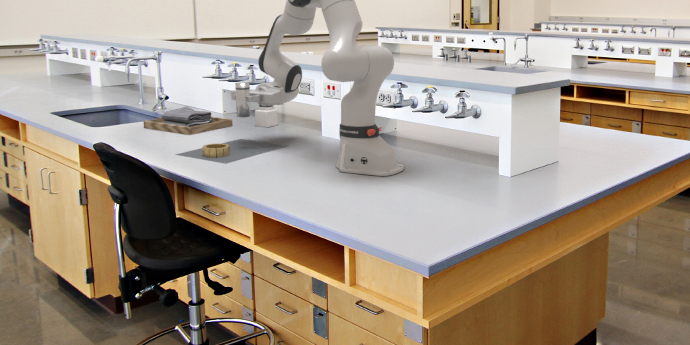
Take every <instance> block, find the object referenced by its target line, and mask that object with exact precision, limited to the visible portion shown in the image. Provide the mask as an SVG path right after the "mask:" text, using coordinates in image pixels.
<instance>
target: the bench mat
mask: <svg viewBox="0 0 690 345" xmlns="http://www.w3.org/2000/svg"><path fill="white" fill-rule="evenodd" d="M220 144H228V145H230V155H229V156H225V157H218V158H217V157H216V158H210V157H204V156H203V153H202V147H201V148H197V149H192V150H188V151H184V152H181V153H180V152H179V153H176V154H175V156H181V157H184V158H185V157H186V158H191V159H192V158H193V159H198V160H203V161H209V162H215V163H219V164H225V165H226V164H230V163H233V162H237V161H240V160H243V159H247V158H251V157H254V156H258V155H261V154H266V153H268V152H269V153H270V152H272V151H276V150H279V149H283V148H287V147H288V145H286V144H279V143H273V142H265V141H259V140H258V141H257V140H252V139H246V138H239V139H234V140H231V141H226V142H223V143H221V142H220Z"/></svg>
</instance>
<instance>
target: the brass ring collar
mask: <svg viewBox="0 0 690 345" xmlns="http://www.w3.org/2000/svg"><path fill="white" fill-rule="evenodd" d="M201 148H202V153H203V156H204V157H210V158H216V157H217V158H218V157H225V156H229V155H230V145H228V144H221V143H209V144H208V143H207V144H204V145H202V147H201Z"/></svg>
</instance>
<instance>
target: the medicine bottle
mask: <svg viewBox="0 0 690 345" xmlns="http://www.w3.org/2000/svg"><path fill="white" fill-rule="evenodd" d="M258 108H259V109H255V110H254V115H255V116H254V118H255V119H254V121H255V127H260V128H261V127H262V128H271V127H275V126H278V110H277V108H275V109H274V105H271V106H261V105H260V104H259V103H258Z"/></svg>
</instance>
